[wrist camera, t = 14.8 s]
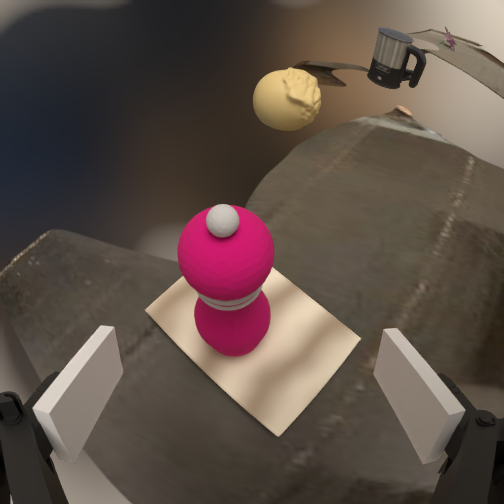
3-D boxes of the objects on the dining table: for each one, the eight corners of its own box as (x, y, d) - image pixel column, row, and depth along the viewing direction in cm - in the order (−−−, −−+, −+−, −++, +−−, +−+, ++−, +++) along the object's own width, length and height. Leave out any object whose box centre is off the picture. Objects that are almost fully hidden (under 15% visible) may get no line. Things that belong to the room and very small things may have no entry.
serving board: (355, 342, 34) (361, 338, 33) (276, 436, 29) (278, 436, 27) (231, 242, 41) (231, 234, 39) (149, 315, 36) (145, 309, 34)
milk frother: (364, 81, 67) (376, 31, 54) (370, 62, 74) (381, 19, 62) (416, 101, 64) (433, 53, 52) (415, 79, 72) (429, 38, 59)
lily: (452, 55, 96) (464, 43, 90) (433, 36, 96) (445, 24, 89) (449, 55, 105) (460, 44, 98) (431, 38, 104) (443, 27, 97)
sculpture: (313, 145, 52) (323, 93, 43) (246, 132, 53) (246, 80, 44) (318, 111, 58) (327, 65, 48) (260, 101, 59) (262, 55, 50)
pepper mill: (280, 319, 34) (315, 196, 17) (244, 374, 31) (242, 302, 14) (225, 286, 36) (208, 147, 19) (187, 337, 33) (125, 228, 15)
